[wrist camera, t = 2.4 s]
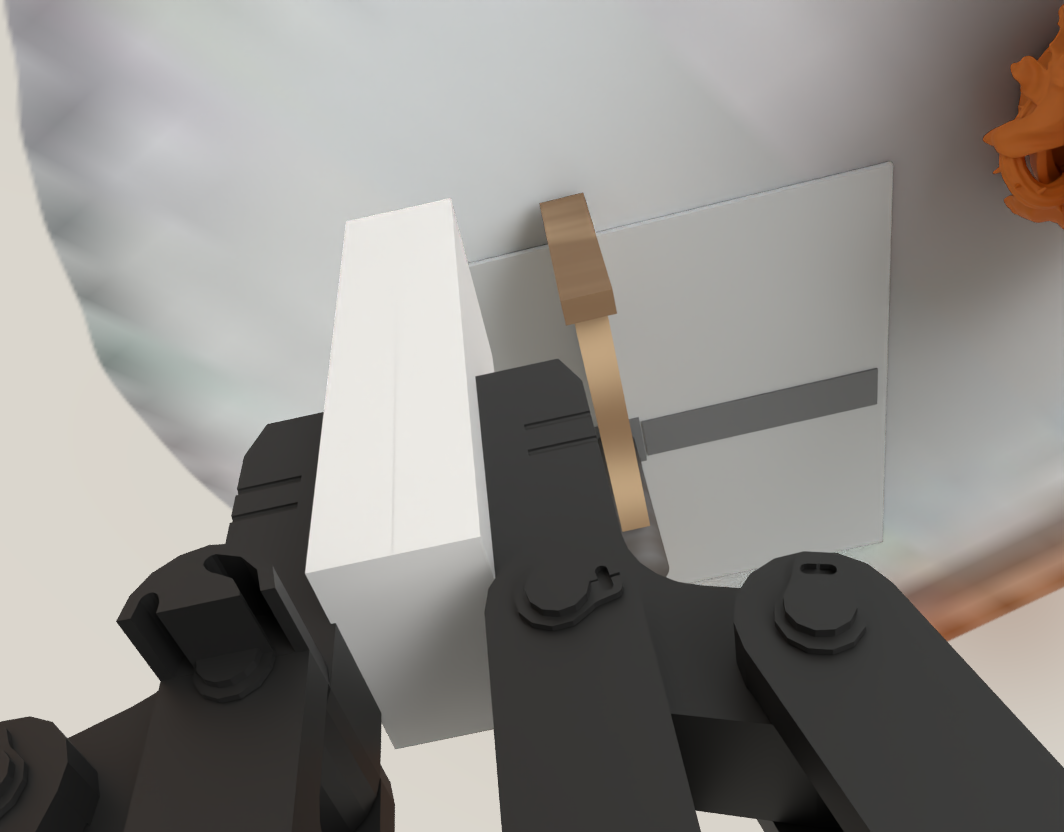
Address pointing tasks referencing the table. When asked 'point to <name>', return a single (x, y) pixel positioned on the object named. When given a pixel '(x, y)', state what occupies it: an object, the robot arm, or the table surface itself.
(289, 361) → the table surface
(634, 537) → the fence panel fixed
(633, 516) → the fence panel hinged
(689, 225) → the board
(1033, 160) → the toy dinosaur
